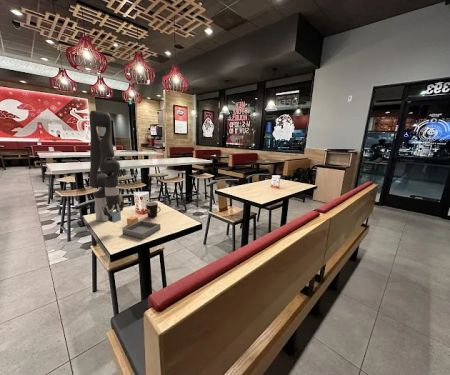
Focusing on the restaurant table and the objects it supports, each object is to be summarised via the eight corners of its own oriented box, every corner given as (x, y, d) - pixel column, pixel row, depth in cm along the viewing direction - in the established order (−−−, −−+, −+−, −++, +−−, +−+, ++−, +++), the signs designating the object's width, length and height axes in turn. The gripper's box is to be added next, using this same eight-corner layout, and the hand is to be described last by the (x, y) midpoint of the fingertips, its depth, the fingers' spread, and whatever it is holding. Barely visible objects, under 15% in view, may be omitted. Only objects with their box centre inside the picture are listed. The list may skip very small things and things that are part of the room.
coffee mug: (144, 215, 162) (143, 203, 160) (155, 213, 168) (155, 201, 165) (150, 220, 154) (149, 207, 151) (162, 217, 159) (161, 205, 157)
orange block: (127, 225, 145) (126, 218, 144) (132, 222, 150) (132, 215, 149) (132, 226, 143) (132, 219, 142) (138, 223, 148) (137, 217, 147)
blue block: (108, 221, 132) (107, 213, 131) (115, 218, 136) (114, 211, 135) (114, 222, 130) (113, 215, 129) (121, 220, 135) (120, 212, 133)
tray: (122, 234, 132) (122, 229, 131) (141, 224, 146) (141, 220, 145) (142, 239, 126) (142, 234, 125) (160, 229, 140) (160, 224, 139)
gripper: (117, 189, 137) (119, 214, 141) (96, 195, 124) (99, 222, 128) (126, 191, 134) (128, 216, 138) (106, 197, 121) (108, 225, 125)
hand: (114, 219), depth 133 cm, fingers closed on blue block, 5 cm apart
